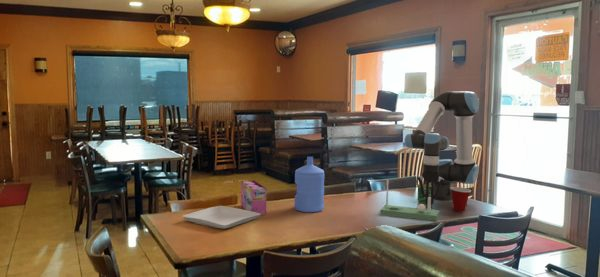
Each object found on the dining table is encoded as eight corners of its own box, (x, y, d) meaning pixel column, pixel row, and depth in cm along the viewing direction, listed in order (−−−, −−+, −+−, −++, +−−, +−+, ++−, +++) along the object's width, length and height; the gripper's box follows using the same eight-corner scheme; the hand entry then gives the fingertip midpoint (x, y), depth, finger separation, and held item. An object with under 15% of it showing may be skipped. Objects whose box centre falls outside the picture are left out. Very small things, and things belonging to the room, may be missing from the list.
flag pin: (386, 205, 253) (387, 179, 251) (387, 205, 252) (388, 179, 251) (384, 206, 249) (385, 180, 248) (386, 206, 249) (387, 180, 248)
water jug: (329, 209, 252) (330, 157, 249) (310, 214, 240) (311, 160, 238) (308, 204, 262) (309, 154, 260) (288, 209, 251) (289, 156, 248)
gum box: (239, 204, 258) (240, 180, 257) (253, 203, 261) (254, 179, 260) (251, 215, 236) (252, 188, 235) (266, 214, 239) (267, 188, 238)
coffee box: (418, 208, 257) (419, 184, 256) (416, 207, 260) (417, 183, 259) (432, 208, 257) (433, 185, 256) (431, 207, 260) (432, 184, 259)
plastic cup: (471, 213, 248) (472, 191, 247) (450, 212, 250) (451, 189, 249) (468, 208, 259) (469, 187, 258) (448, 207, 261) (449, 186, 260)
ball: (418, 210, 242) (418, 202, 242) (426, 211, 241) (426, 203, 240) (416, 212, 238) (417, 204, 238) (425, 213, 237) (425, 205, 237)
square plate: (225, 233, 207) (225, 224, 206) (180, 223, 221) (180, 215, 221) (261, 219, 230) (262, 212, 229) (219, 211, 244) (219, 204, 244)
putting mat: (385, 209, 254) (385, 204, 254) (439, 215, 243) (439, 210, 243) (380, 214, 243) (380, 209, 243) (436, 220, 232) (436, 215, 232)
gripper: (416, 164, 235) (414, 210, 237) (444, 166, 230) (441, 213, 232) (418, 162, 242) (417, 207, 244) (445, 164, 237) (443, 210, 239)
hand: (429, 210), depth 238 cm, fingers closed
